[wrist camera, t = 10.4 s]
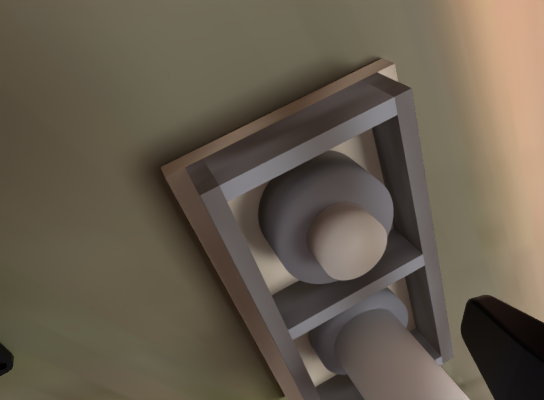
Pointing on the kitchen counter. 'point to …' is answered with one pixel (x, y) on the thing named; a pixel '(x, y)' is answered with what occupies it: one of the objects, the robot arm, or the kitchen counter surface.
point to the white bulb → (381, 352)
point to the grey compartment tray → (319, 221)
